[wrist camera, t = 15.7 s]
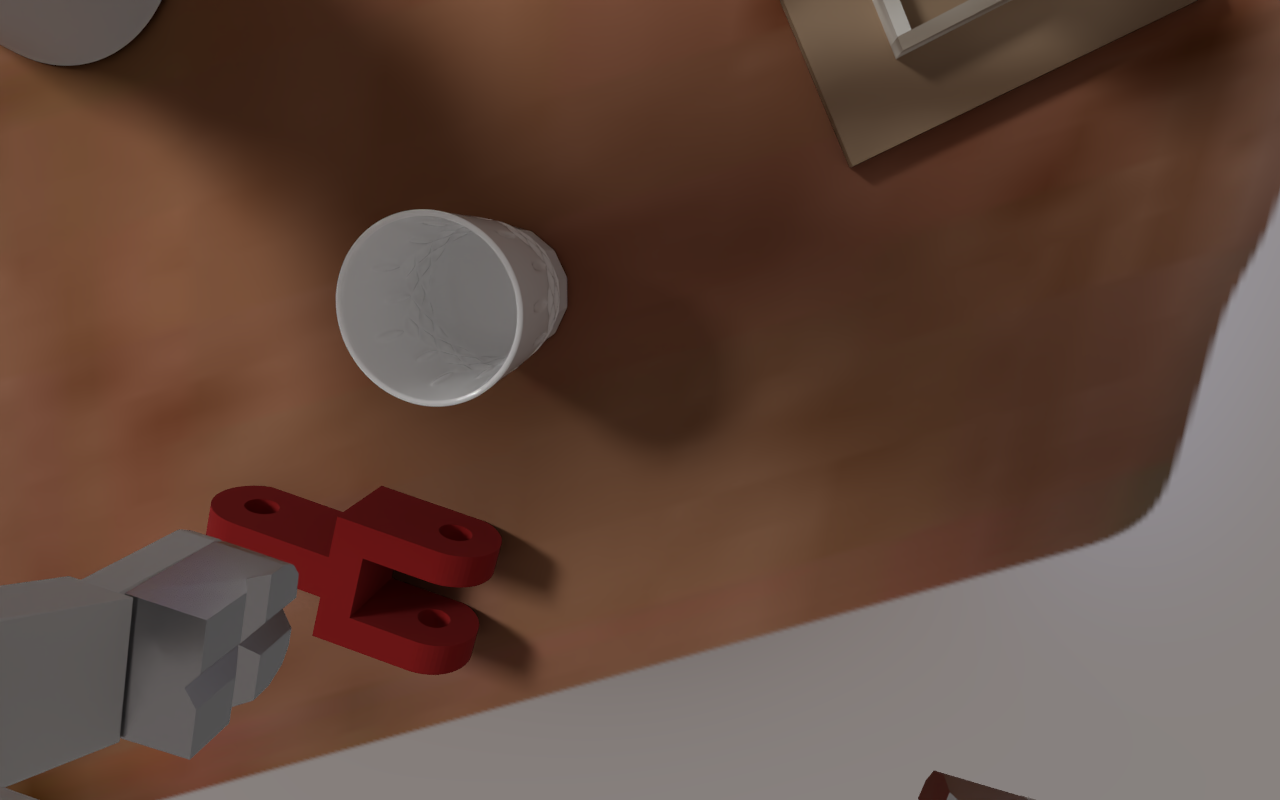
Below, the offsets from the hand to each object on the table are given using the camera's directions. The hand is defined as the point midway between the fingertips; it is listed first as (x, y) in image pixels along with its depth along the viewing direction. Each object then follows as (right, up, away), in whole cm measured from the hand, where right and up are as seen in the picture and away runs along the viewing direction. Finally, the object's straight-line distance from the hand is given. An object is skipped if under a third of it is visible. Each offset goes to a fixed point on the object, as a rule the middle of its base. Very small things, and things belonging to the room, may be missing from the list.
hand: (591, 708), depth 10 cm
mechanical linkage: (-15, -4, +36) cm, 39 cm away
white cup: (-6, +10, +31) cm, 33 cm away
